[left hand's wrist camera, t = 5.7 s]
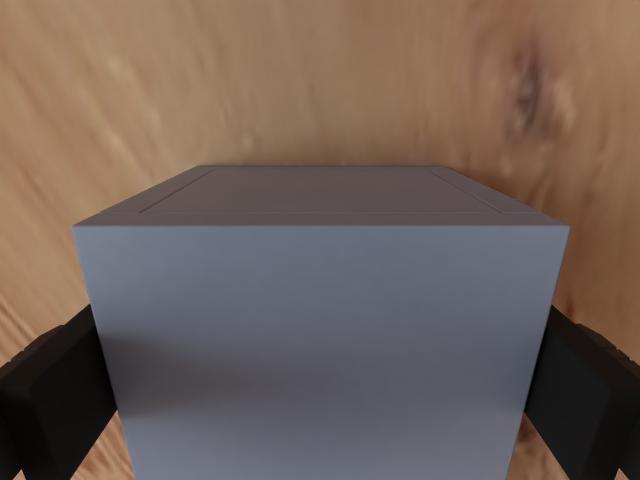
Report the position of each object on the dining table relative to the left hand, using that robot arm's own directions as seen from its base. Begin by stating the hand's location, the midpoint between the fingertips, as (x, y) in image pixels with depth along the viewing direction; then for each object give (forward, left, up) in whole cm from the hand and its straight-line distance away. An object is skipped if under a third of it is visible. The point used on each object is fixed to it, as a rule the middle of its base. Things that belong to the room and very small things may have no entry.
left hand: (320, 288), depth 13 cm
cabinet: (+3, +4, -3) cm, 6 cm away
